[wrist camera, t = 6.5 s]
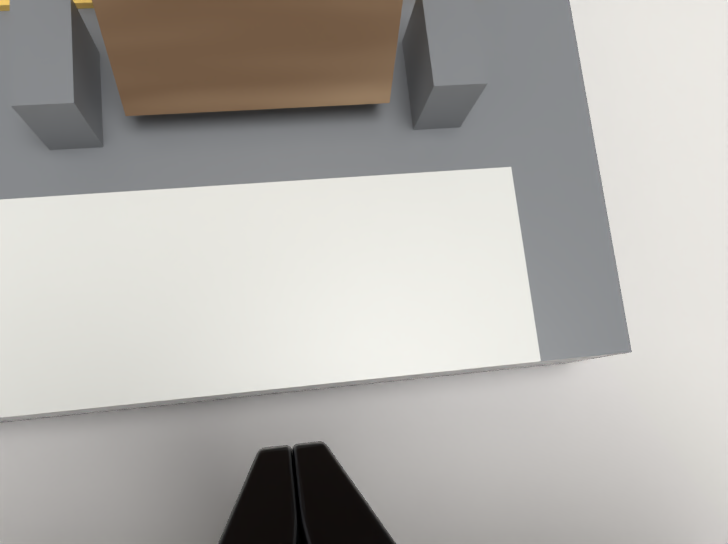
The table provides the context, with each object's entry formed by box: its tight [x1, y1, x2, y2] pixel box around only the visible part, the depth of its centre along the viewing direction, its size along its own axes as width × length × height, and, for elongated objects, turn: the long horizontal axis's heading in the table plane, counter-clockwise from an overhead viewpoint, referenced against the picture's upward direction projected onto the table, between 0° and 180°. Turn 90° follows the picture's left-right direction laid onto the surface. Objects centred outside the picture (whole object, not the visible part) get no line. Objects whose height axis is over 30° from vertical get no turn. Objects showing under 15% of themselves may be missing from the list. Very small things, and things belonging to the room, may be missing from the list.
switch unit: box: [0, 0, 632, 422], centre depth 15 cm, size 13×14×5 cm
